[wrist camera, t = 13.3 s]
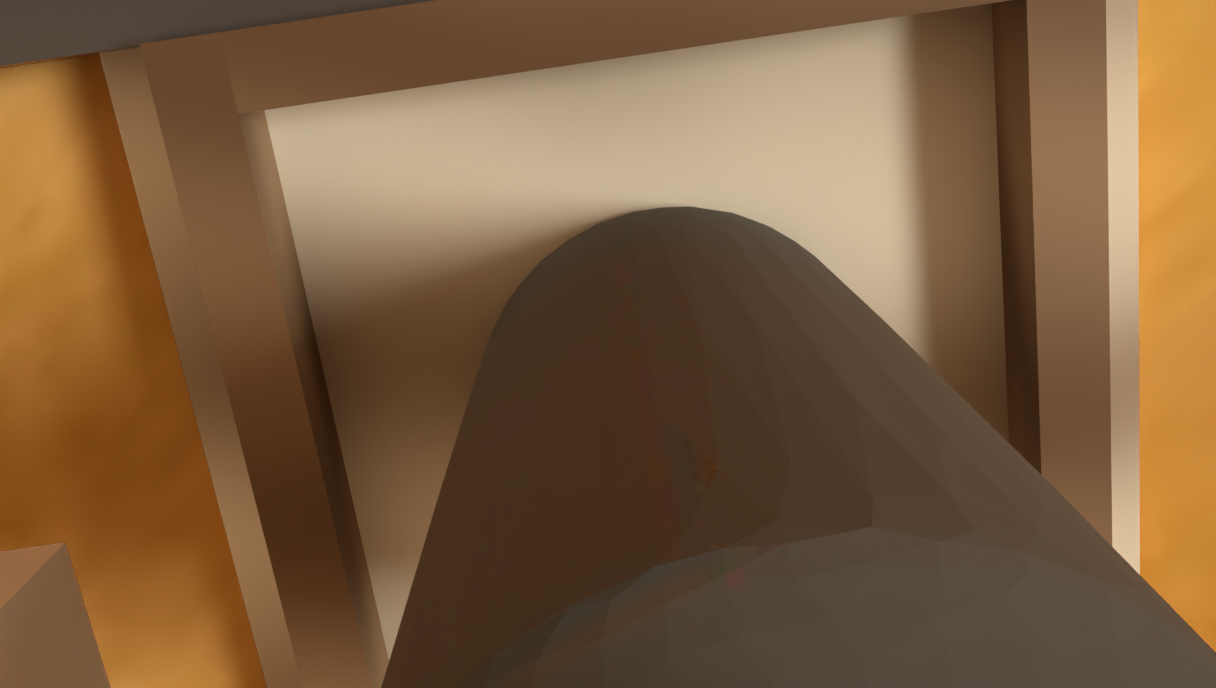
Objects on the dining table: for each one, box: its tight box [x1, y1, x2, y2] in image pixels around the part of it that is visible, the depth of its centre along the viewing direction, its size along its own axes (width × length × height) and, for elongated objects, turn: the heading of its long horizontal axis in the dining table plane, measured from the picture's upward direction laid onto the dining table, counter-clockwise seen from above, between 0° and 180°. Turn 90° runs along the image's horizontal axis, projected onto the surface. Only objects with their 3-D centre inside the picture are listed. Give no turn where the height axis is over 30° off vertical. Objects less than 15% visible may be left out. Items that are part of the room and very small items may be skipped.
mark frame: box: [99, 0, 1140, 688], centre depth 16 cm, size 14×14×2 cm
